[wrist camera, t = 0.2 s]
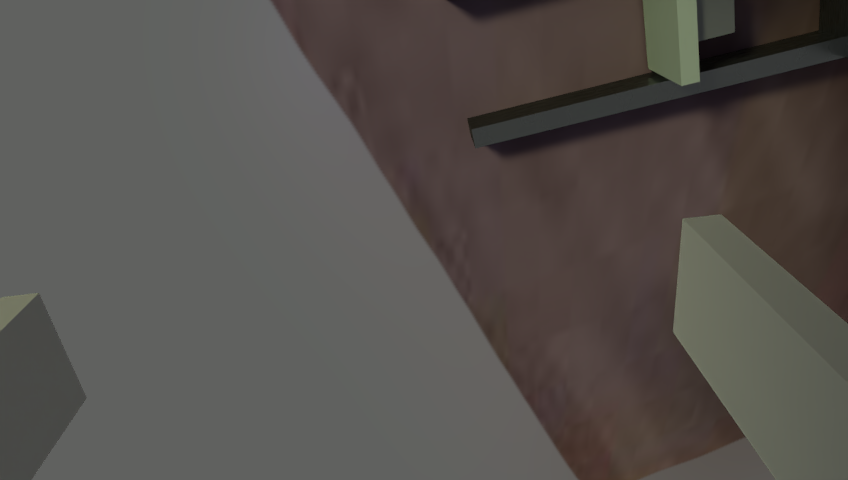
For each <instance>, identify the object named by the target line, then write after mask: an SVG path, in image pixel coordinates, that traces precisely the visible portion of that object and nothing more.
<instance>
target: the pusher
mask: <svg viewBox="0 0 848 480" xmlns="http://www.w3.org/2000/svg"><path fill="white" fill-rule="evenodd" d="M643 10H644V23H645V35H646V48H647V60H648V69H650V70H652V71H654V72H656V73H658V74H659V75H661V76H663V77H665V78H667V79H669V80H671V81H673V82H675V83H677V84H679V85H680V86H684V85H688V84H692V83H696V82H700V71H699V48H698V41H702V40H706V39H710V38H714V37H718V36H722V35H726V34H730V33H734V32H735V13H734V0H643Z"/></svg>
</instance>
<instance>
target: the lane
mask: <svg viewBox="0 0 848 480" xmlns="http://www.w3.org/2000/svg"><path fill="white" fill-rule="evenodd" d="M844 57H845V58H848V0H820V19H819V31H815V32H811V33H807V34H803V35H799V36H795V37H791V38H787V39H783V40H779V41H775V42H771V43H767V44H763V45H759V46H755V47H751V48H747V49H743V50H739V51H735V52H731V53H727V54H723V55H719V56H715V57H711V58H707V59H703V60H699V71H700V82H696V83H692V84H688V85H684V86H680V85H679V84H677V83H675V82H673V81H671V80H669V79H667V78H665V77H663V76H661V75H659V74H658V73H656V72H651V73H647V74H643V75H639V76H635V77H631V78H628V79H624V80H620V81H616V82H612V83H608V84H604V85H600V86H596V87H592V88H588V89H584V90H580V91H576V92H572V93H568V94H564V95H560V96H556V97H552V98H548V99H544V100H540V101H536V102H532V103H528V104H524V105H520V106H516V107H512V108H508V109H504V110H500V111H496V112H492V113H488V114H484V115H480V116H476V117H472V118H468V124H469V129H470V133H471V137H472V140H473V143H474V146H475V148H478V147H482V146H487V145H491V144H495V143H499V142H503V141H507V140H511V139H515V138H519V137H523V136H527V135H531V134H535V133H539V132H543V131H547V130H552V129H556V128H560V127H564V126H568V125H572V124H576V123H580V122H584V121H588V120H592V119H596V118H600V117H604V116H608V115H612V114H616V113H621V112H625V111H629V110H633V109H637V108H641V107H645V106H649V105H653V104H657V103H661V102H665V101H669V100H673V99H677V98H681V97H685V96H690V95H694V94H698V93H702V92H706V91H710V90H714V89H718V88H722V87H726V86H730V85H734V84H738V83H742V82H746V81H750V80H755V79H759V78H763V77H767V76H771V75H775V74H779V73H783V72H787V71H791V70H795V69H799V68H803V67H807V66H811V65H815V64H819V63H824V62H828V61H832V60H836V59H840V58H844Z"/></svg>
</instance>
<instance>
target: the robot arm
mask: <svg viewBox="0 0 848 480" xmlns="http://www.w3.org/2000/svg"><path fill="white" fill-rule="evenodd" d="M673 333H674V334H675V335H676V337H677V338H678V340H679V341H680V343H681V344H682V346H683V347H684V348H685V350H686V351H687V353H688V354H689V356H690V357H691V359H692V360H693V361H694V363H695V364H696V366H697V367H698V369H699V370H700V372H701V373H702V374H703V376H704V377H705V379H706V380H707V382H708V383H709V384H710V386H711V387H712V389H713V390H714V392H715V393H716V395H717V396H718V397H719V399H720V400H721V402H722V403H723V405H724V406H725V408H726V409H727V410H728V412H729V413H730V415H731V416H732V418H733V419H734V421H735V422H736V423H737V425H738V426H739V428H740V429H741V431H742V432H743V434H744V435H745V436H746V438H747V439H748V441H749V442H750V444H751V445H752V446H753V448H754V449H755V451H756V452H757V453H758V455H759V457H760V458H761V459H762V461H763V462H764V464H765V465H766V467H767V468H768V470H769V471H770V472H771V474H772V475H773V477H774V478H775V479H776V480H848V324H847V323H846V322H845V321H844V320H843V319H842V318H840V317H839V316H838V315H837V314H836V313H835V312H833V311H832V310H831V309H830V308H829V307H828V306H826V305H825V304H824V303H823V302H822V301H821V300H820V299H818V298H817V297H816V296H815V295H814V294H813V293H811V292H810V291H809V290H808V289H807V288H806V287H804V286H803V285H802V284H801V283H800V282H799V281H798V280H796V279H795V278H794V277H793V276H792V275H791V274H789V273H788V272H787V271H786V270H785V269H784V268H782V267H781V266H780V265H779V264H778V263H777V262H776V261H774V260H773V259H772V258H771V257H770V256H769V255H767V254H766V253H765V252H764V251H763V250H762V249H760V248H759V247H758V246H757V245H756V244H755V243H753V242H752V241H751V240H750V239H749V238H748V237H747V236H745V235H744V234H743V233H742V232H741V231H740V230H738V229H737V228H736V227H735V226H734V225H733V224H731V223H730V222H729V221H728V220H727V219H726V218H725V217H723V216H722V215H721V214H720V215H711V216H702V217H694V218H685V219H683V221H682V233H681V244H680V256H679V268H678V280H677V291H676V303H675V315H674V326H673ZM85 399H86V395H85V393H84V391H83V389H82V387H81V384H80V382H79V380H78V378H77V376H76V373H75V371H74V369H73V367H72V365H71V362H70V360H69V358H68V356H67V354H66V351H65V349H64V347H63V345H62V343H61V341H60V338H59V336H58V334H57V332H56V330H55V327H54V325H53V323H52V321H51V319H50V316H49V314H48V312H47V310H46V308H45V306H44V303H43V301H42V299H41V297H40V295H39V293H35V294H27V295H18V296H9V297H2V298H1V299H0V480H31V479H32V478H33V477H34V475H35V474H36V472H37V471H38V469H39V468H40V466H41V465H42V463H43V461H44V460H45V459H46V457H47V456H48V454H49V453H50V451H51V450H52V448H53V447H54V445H55V444H56V443H57V441H58V440H59V438H60V437H61V435H62V434H63V432H64V431H65V429H66V428H67V426H68V425H69V423H70V422H71V420H72V419H73V417H74V416H75V414H76V413H77V411H78V410H79V408H80V407H81V405H82V404H83V403H84V401H85Z"/></svg>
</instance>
